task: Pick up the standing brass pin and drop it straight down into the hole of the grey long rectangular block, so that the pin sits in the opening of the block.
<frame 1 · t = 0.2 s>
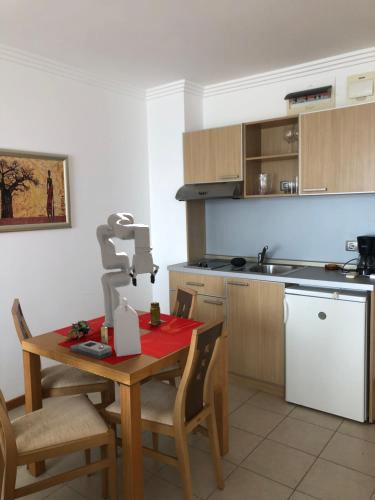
hand: (143, 284, 207), 31 cm above the table, tool pointing down, fingers open, 9 cm apart
brass pin: (104, 344, 213), on the table
milk: (127, 351, 203), on the table
condiment: (157, 322, 250), on the table
passion flower: (80, 338, 225), on the table
grey long rectangular block: (90, 352, 202), on the table
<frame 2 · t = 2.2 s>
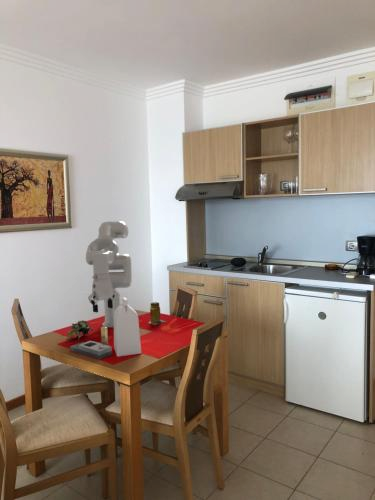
hand: (103, 310, 211), 18 cm above the table, tool pointing down, fingers open, 9 cm apart
nothing on the table moved.
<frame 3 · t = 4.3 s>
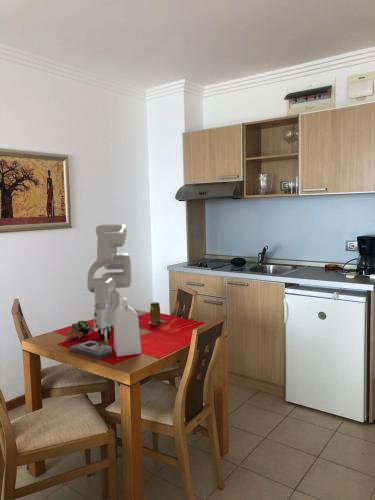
hand: (104, 339, 213), 2 cm above the table, tool pointing down, fingers closed on brass pin, 3 cm apart
brass pin: (104, 344, 213), on the table, touching gripper
everything else where it was.
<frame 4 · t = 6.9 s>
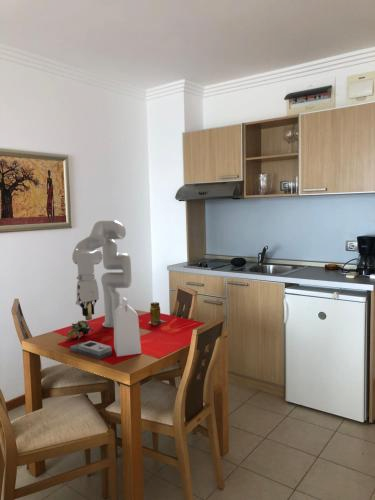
hand: (88, 314, 200), 19 cm above the table, tool pointing down, fingers closed on brass pin, 3 cm apart
brass pin: (88, 319, 200), point 17 cm above the table, touching gripper
everything else where it was.
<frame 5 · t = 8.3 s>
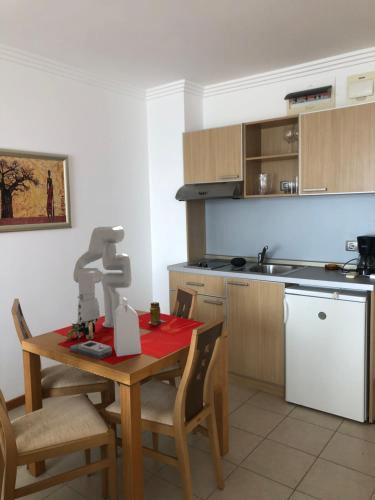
hand: (89, 333, 201), 10 cm above the table, tool pointing down, fingers closed on brass pin, 3 cm apart
brass pin: (89, 338, 201), point 7 cm above the table, touching gripper
everything else where it was.
when the fingers open (5 cm above the table, at t = 9.5 s): brass pin drops 2 cm, resting in grey long rectangular block.
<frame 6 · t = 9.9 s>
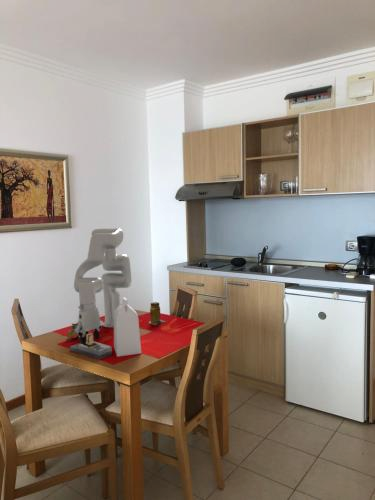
hand: (90, 341, 201), 5 cm above the table, tool pointing down, fingers open, 7 cm apart
brass pin: (90, 352, 202), resting in grey long rectangular block
everything else where it was.
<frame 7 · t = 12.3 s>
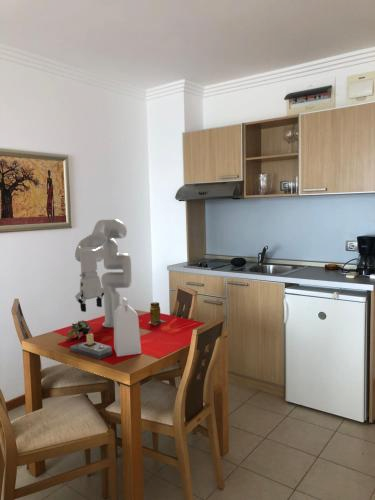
hand: (91, 309, 203), 21 cm above the table, tool pointing down, fingers open, 9 cm apart
nothing on the table moved.
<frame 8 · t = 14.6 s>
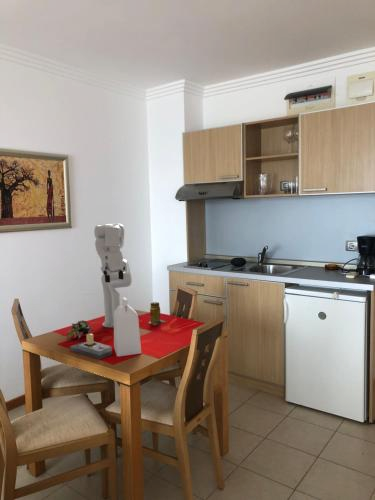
hand: (114, 280, 224), 30 cm above the table, tool pointing down, fingers open, 9 cm apart
nothing on the table moved.
at the end: brass pin 0.1 cm from the grey long rectangular block (horizontally); brass pin resting in grey long rectangular block; brass pin tilted 0° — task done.
